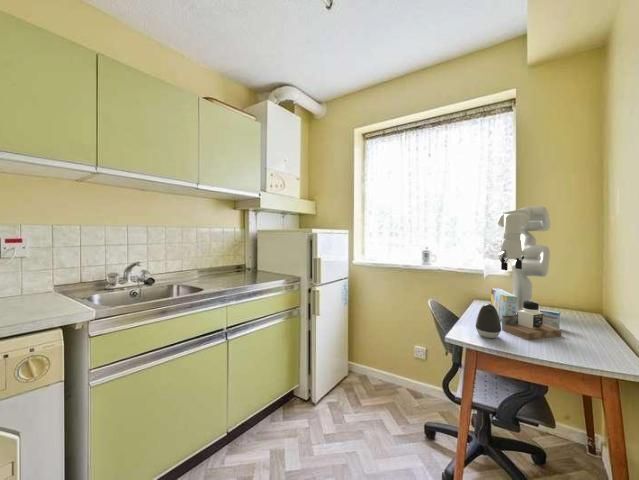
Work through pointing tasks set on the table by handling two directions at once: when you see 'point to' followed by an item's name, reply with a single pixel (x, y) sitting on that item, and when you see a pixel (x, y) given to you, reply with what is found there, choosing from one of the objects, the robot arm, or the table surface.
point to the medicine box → (551, 318)
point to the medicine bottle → (530, 315)
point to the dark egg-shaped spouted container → (488, 322)
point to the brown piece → (527, 329)
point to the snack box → (503, 302)
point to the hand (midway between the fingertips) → (511, 269)
